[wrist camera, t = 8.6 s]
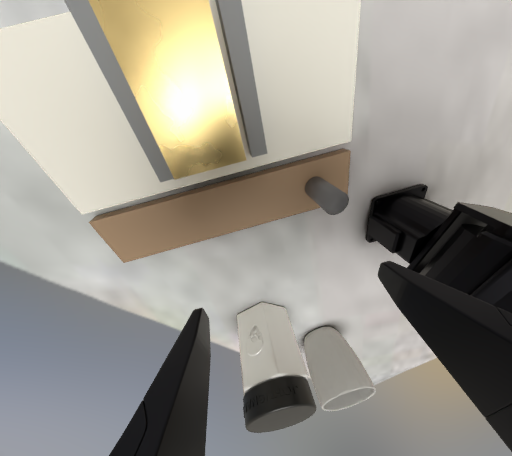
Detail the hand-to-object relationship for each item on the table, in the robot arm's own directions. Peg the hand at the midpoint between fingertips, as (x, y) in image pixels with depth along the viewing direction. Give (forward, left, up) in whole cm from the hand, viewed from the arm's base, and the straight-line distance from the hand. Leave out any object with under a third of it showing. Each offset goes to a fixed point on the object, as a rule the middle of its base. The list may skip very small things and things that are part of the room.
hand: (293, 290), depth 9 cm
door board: (+3, -6, -12) cm, 13 cm away
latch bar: (+3, -9, -10) cm, 14 cm away
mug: (-7, +34, -12) cm, 37 cm away
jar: (+4, +21, -12) cm, 24 cm away
